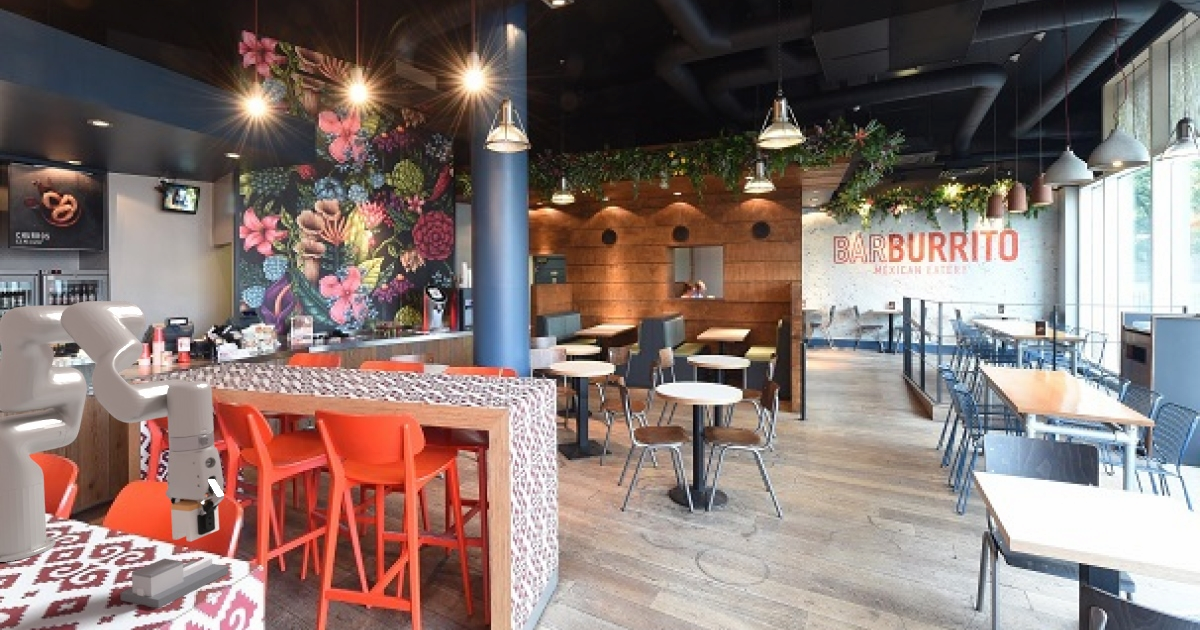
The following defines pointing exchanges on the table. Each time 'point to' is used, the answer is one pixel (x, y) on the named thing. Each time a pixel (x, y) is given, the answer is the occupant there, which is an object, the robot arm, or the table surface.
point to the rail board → (178, 588)
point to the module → (188, 520)
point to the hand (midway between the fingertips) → (196, 530)
